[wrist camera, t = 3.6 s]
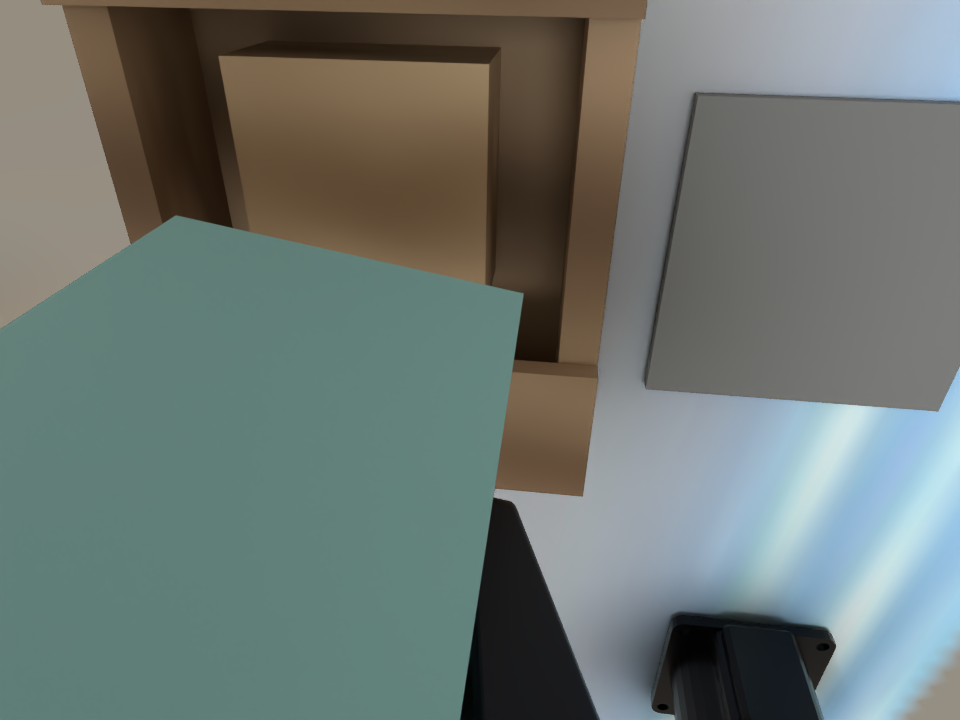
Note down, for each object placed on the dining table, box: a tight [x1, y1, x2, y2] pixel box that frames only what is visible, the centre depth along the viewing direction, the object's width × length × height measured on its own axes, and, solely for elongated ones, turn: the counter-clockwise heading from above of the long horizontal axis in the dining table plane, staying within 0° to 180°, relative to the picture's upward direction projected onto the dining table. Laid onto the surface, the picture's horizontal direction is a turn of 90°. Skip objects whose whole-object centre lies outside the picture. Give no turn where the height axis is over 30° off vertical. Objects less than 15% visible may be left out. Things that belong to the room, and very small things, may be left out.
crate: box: [41, 0, 647, 496], centre depth 17 cm, size 16×12×5 cm
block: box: [0, 215, 524, 720], centre depth 6 cm, size 4×4×7 cm
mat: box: [645, 93, 960, 411], centre depth 19 cm, size 9×9×1 cm
